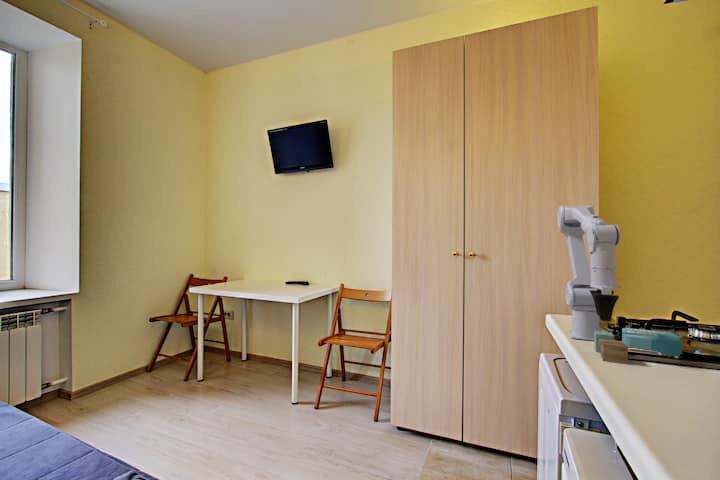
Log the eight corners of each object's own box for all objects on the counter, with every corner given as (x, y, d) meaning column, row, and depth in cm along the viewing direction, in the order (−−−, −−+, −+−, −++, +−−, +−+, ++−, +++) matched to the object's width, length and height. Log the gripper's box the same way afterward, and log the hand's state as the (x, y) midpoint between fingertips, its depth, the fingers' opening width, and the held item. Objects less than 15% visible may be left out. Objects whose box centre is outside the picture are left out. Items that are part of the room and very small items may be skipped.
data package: (623, 335, 95) (621, 327, 105) (623, 352, 95) (622, 342, 105) (683, 342, 88) (675, 332, 98) (683, 360, 88) (675, 349, 98)
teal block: (594, 348, 99) (594, 330, 99) (611, 350, 97) (611, 332, 97) (596, 352, 95) (595, 333, 95) (614, 354, 93) (613, 335, 94)
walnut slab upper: (599, 347, 92) (599, 339, 92) (622, 350, 90) (622, 341, 90) (603, 353, 88) (603, 343, 88) (627, 355, 86) (627, 346, 86)
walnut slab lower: (600, 356, 92) (600, 347, 92) (624, 359, 90) (624, 350, 90) (602, 362, 88) (602, 353, 88) (627, 365, 86) (627, 356, 86)
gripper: (625, 270, 88) (626, 324, 88) (616, 267, 101) (617, 315, 101) (592, 269, 92) (592, 321, 91) (587, 266, 104) (588, 312, 104)
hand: (603, 318), depth 96 cm, fingers open, 7 cm apart
